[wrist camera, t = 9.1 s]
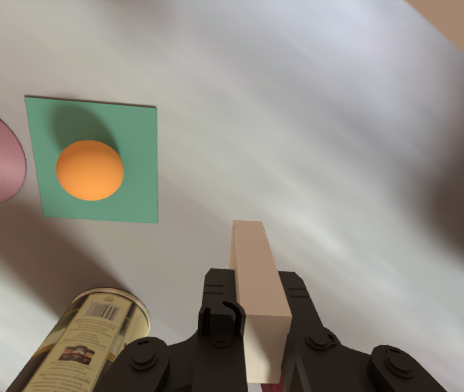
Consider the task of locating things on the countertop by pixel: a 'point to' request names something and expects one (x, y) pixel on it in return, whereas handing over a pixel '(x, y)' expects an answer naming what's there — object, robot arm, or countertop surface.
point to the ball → (89, 170)
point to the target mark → (110, 133)
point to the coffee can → (84, 343)
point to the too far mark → (10, 163)
